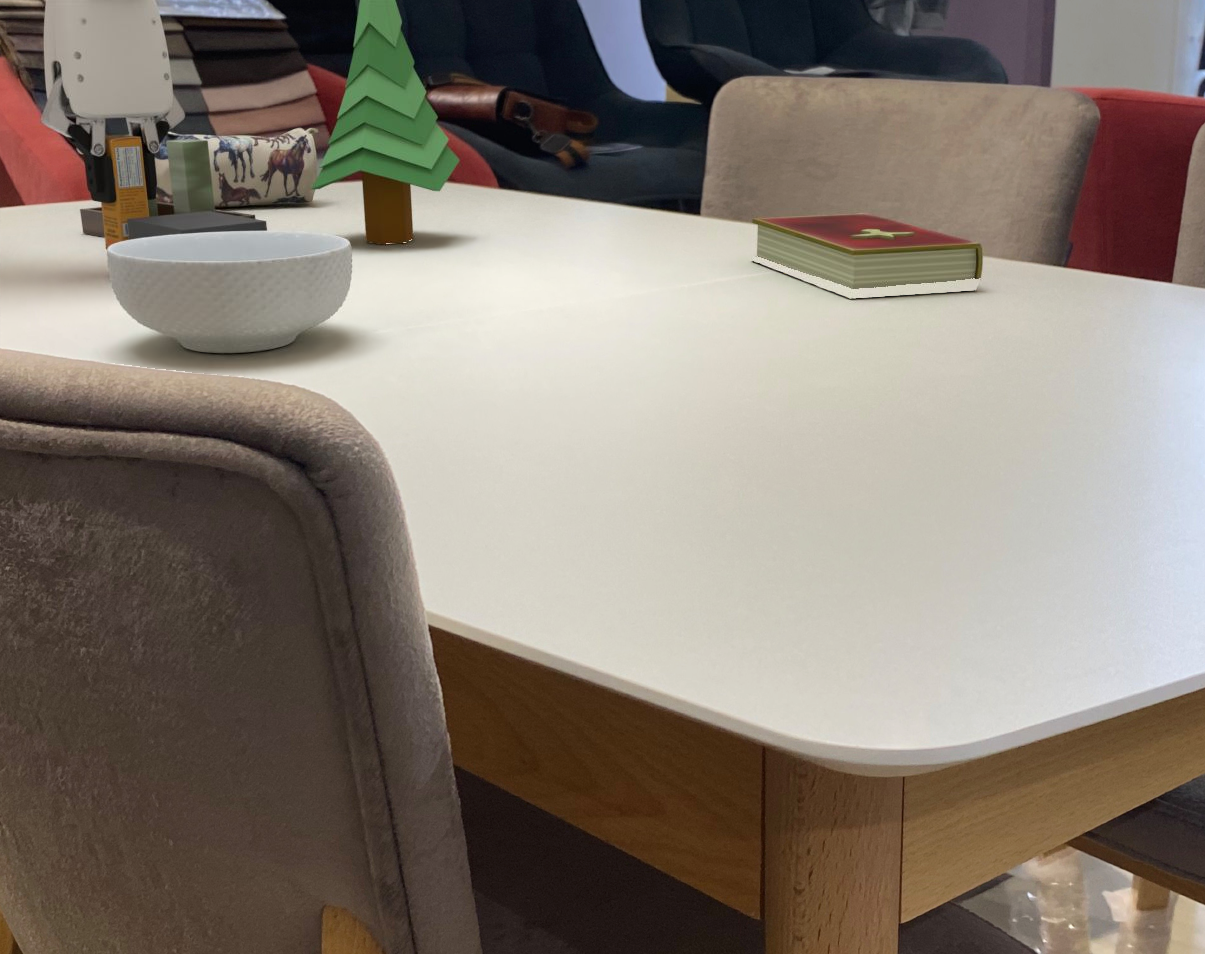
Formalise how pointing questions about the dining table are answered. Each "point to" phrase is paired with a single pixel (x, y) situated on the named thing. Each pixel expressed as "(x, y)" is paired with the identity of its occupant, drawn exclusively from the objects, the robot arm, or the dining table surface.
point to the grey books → (191, 224)
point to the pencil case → (251, 168)
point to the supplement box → (124, 187)
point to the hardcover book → (866, 250)
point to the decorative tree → (386, 127)
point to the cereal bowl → (231, 285)
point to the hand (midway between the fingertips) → (123, 198)
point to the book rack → (175, 186)
